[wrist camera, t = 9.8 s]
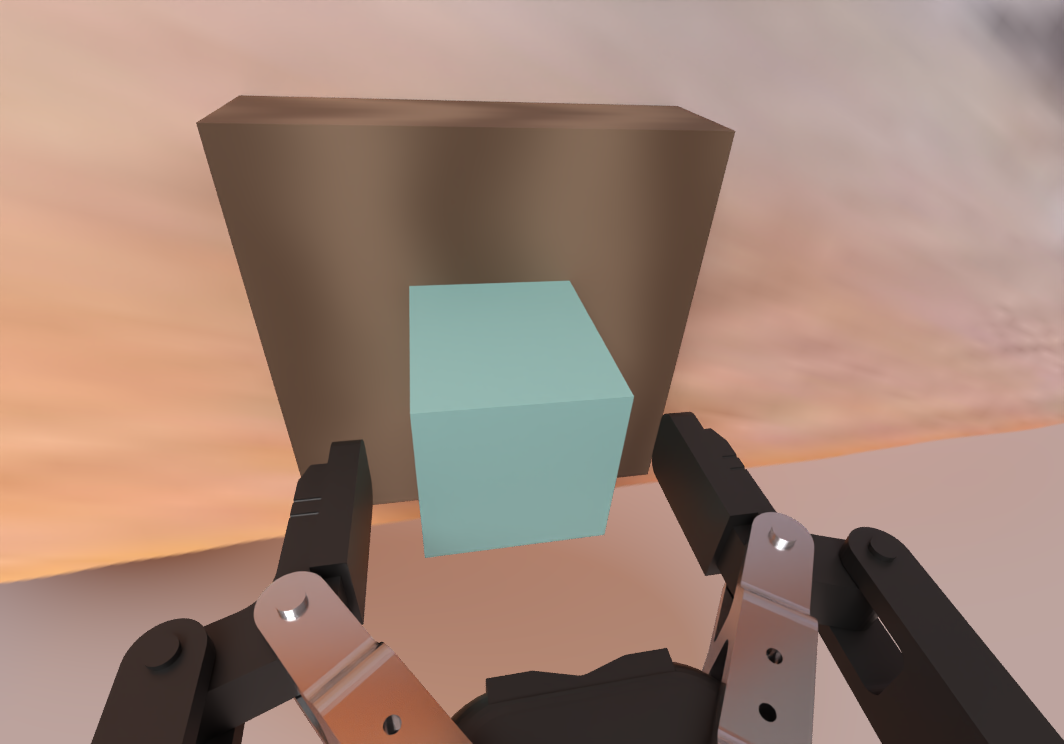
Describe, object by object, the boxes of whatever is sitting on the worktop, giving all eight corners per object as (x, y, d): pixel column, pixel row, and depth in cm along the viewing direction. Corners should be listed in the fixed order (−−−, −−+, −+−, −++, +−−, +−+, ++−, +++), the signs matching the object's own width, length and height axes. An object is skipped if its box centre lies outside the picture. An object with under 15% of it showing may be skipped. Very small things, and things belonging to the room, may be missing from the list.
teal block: (569, 280, 17) (633, 396, 12) (556, 402, 20) (604, 534, 15) (409, 285, 16) (410, 413, 11) (420, 413, 19) (424, 557, 14)
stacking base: (677, 106, 18) (735, 131, 15) (618, 415, 26) (647, 474, 23) (239, 95, 16) (196, 122, 12) (324, 441, 24) (311, 511, 21)
